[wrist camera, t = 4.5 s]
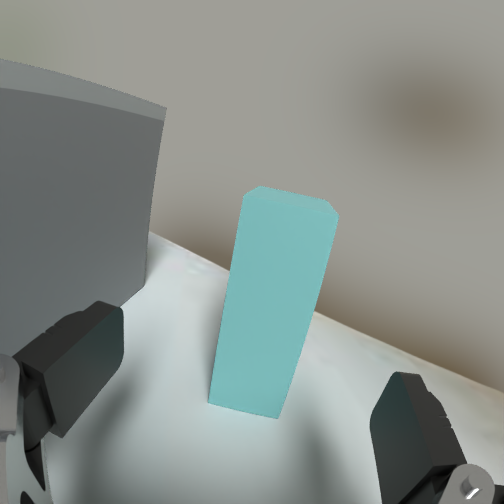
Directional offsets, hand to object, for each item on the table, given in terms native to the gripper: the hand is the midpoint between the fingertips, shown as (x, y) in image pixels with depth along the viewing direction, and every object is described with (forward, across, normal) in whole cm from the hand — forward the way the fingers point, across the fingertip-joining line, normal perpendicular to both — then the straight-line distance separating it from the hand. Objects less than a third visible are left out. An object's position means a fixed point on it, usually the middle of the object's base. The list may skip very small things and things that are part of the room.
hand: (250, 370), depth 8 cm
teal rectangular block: (+7, 0, +6) cm, 9 cm away
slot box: (+7, +16, +6) cm, 18 cm away
